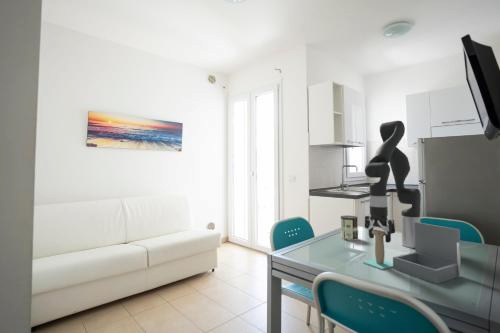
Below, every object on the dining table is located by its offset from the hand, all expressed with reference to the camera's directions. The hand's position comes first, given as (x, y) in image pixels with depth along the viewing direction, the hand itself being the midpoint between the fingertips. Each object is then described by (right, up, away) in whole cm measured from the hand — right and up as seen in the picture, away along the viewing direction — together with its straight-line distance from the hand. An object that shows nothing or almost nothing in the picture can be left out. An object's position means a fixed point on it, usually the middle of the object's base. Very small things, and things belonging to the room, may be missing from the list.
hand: (379, 240), depth 121 cm
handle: (0, -11, 0) cm, 11 cm away
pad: (0, -11, 0) cm, 11 cm away
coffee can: (+4, -13, +47) cm, 49 cm away
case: (+15, -11, -10) cm, 21 cm away
